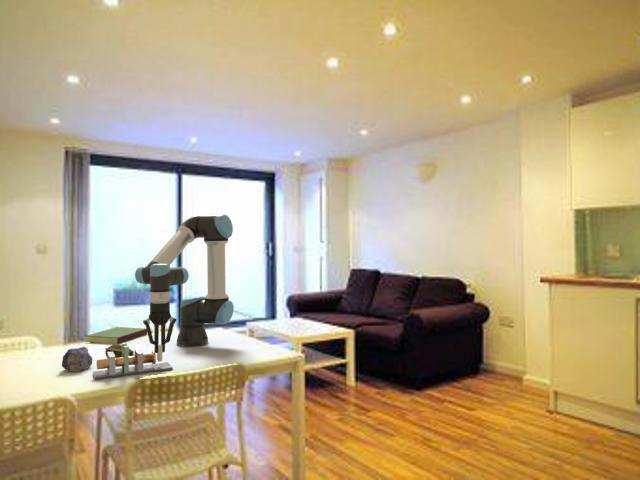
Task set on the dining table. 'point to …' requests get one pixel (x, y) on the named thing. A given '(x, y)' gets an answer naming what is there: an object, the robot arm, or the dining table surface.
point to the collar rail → (127, 370)
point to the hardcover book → (116, 335)
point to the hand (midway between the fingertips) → (159, 360)
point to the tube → (132, 361)
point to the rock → (77, 360)
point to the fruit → (117, 351)
